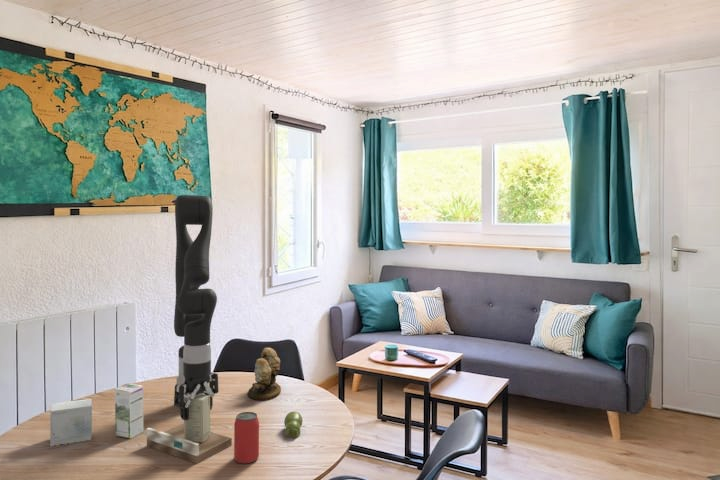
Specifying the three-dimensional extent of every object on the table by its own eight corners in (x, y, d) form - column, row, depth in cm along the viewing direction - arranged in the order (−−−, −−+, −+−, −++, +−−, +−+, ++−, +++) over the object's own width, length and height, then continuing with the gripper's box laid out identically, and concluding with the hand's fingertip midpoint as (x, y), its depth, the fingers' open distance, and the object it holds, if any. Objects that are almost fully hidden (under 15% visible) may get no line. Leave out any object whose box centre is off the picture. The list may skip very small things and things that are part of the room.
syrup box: (144, 431, 156) (144, 384, 156) (129, 439, 151) (129, 390, 150) (129, 428, 158) (129, 382, 158) (114, 436, 153) (114, 388, 152)
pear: (302, 408, 163) (302, 426, 153) (302, 423, 164) (301, 442, 154) (285, 408, 162) (283, 426, 153) (284, 423, 163) (282, 442, 154)
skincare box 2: (211, 437, 149) (211, 395, 148) (203, 443, 145) (203, 400, 144) (191, 434, 150) (191, 393, 150) (182, 440, 146) (182, 398, 146)
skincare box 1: (50, 447, 145) (49, 410, 145) (51, 438, 151) (51, 403, 150) (92, 440, 150) (91, 404, 150) (92, 432, 156) (91, 397, 155)
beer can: (236, 453, 143) (236, 411, 143) (260, 453, 144) (260, 410, 143) (232, 464, 137) (232, 420, 136) (257, 464, 137) (257, 420, 137)
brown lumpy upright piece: (253, 384, 202) (253, 341, 201) (283, 385, 202) (284, 342, 202) (244, 401, 184) (245, 353, 183) (277, 401, 184) (278, 354, 184)
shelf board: (145, 446, 147) (145, 429, 146) (182, 429, 158) (183, 413, 158) (195, 463, 137) (195, 445, 137) (231, 445, 148) (231, 428, 148)
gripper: (186, 367, 138) (186, 426, 139) (225, 354, 151) (224, 409, 152) (167, 362, 142) (167, 420, 143) (206, 351, 154) (206, 404, 155)
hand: (197, 414), depth 147 cm, fingers open, 8 cm apart
